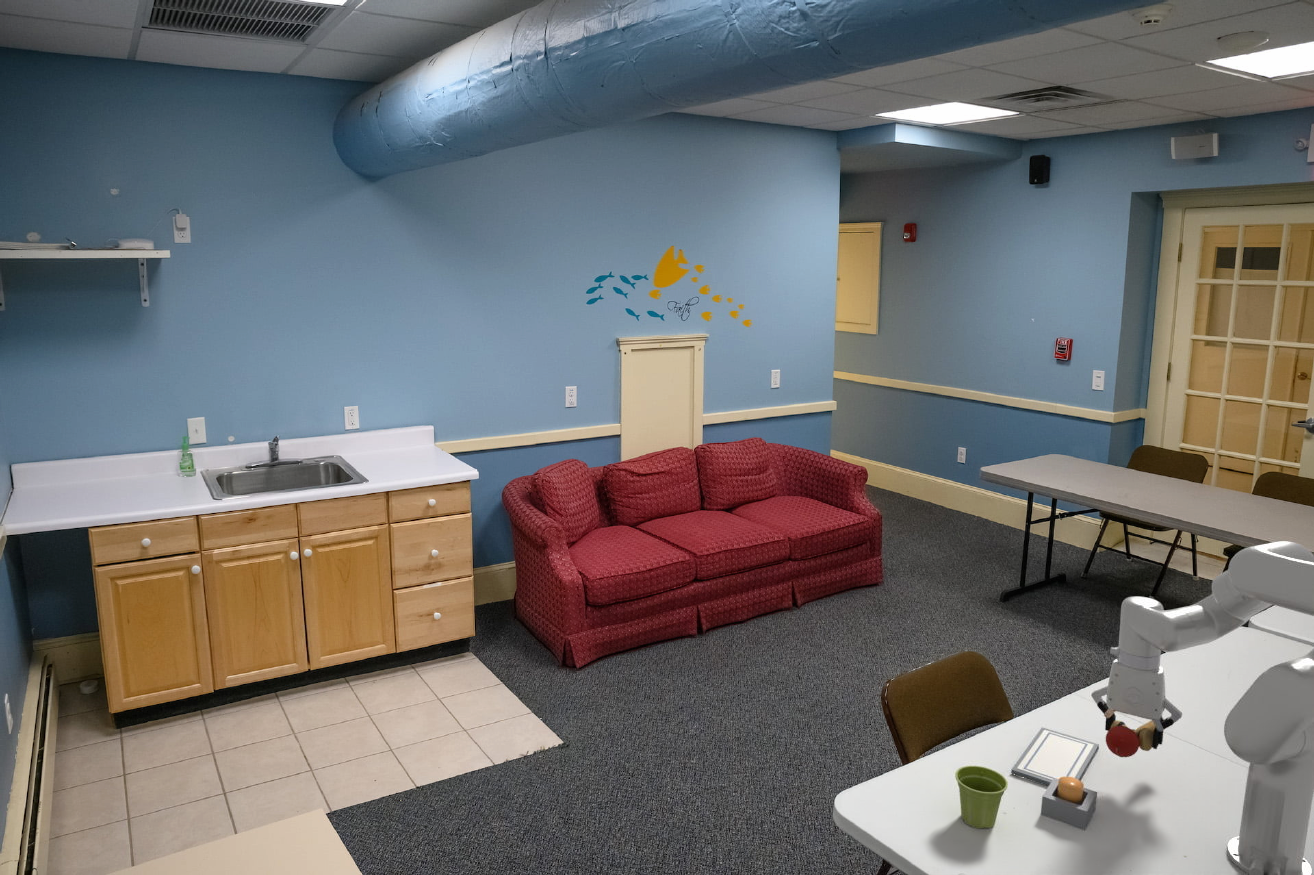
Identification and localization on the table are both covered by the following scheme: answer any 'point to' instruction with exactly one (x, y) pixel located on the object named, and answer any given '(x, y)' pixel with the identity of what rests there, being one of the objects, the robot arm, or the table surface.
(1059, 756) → the picture frame
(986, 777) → the plant pot
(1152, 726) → the kendama
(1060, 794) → the button
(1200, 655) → the table surface
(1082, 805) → the button housing
